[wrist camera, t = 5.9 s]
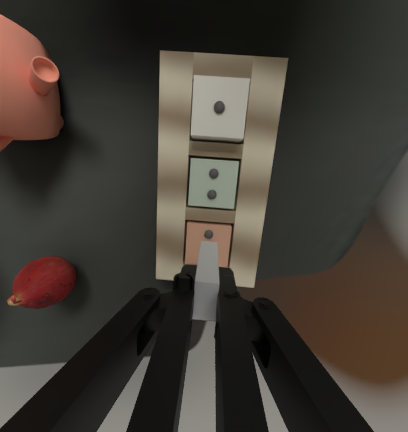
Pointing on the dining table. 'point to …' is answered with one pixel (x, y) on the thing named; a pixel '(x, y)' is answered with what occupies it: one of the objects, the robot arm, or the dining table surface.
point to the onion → (43, 283)
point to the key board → (215, 157)
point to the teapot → (26, 87)
